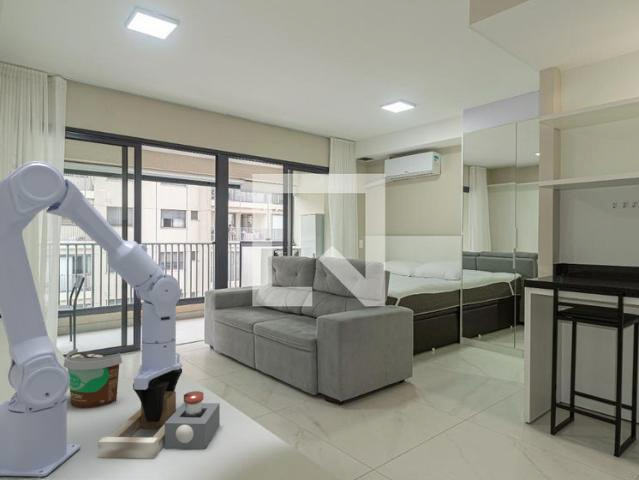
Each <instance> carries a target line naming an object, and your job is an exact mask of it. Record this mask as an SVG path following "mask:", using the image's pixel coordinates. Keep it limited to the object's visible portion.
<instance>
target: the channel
mask: <svg viewBox="0 0 639 480" xmlns="http://www.w3.org/2000/svg"><path fill="white" fill-rule="evenodd" d="M183 403H185V402H184V401H183ZM139 428H141V408H140V409H139V410H137V411H136V412H135V413H134V414H133V415H132V416H131V417H128V419H127V420H126V421H124V422H123V423H122V424H121V425H120V426H119V427H118V428H116V430H114V431H113V432H112V433H111V434H109V436H103V437H102V438H101V439H100V440H99V441H98V442H97V453H98V454H97V456H98V457H97V458H102V459H103V458H107V459H108V458H114V459H115V458H116V459H118V458H120V459H154V458H156V457H157V455H158V454H159V452H161V450H162V449H163V448H165V424H164V425H163V426H162V427H161V428H159V429H158V431H157V432H156V433H155V434H154V435H153V436H152V437H138V436H137V437H136V436H133V437H132V435H133V434H134V433H135V432H136V431H138V429H139Z"/></svg>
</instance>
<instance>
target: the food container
mask: <svg viewBox="0 0 639 480" xmlns="http://www.w3.org/2000/svg"><path fill="white" fill-rule="evenodd" d="M122 359H123V358H122V355H121V353H120V352H118V353H115V354H110V355H106V354H102V353H98V352H95V353H93V352H92V353H81V352H79V349H78V348H75V349H72V350H70V351H68V352H67V354H66V356H65V358H64V362H63V367H64V368H66V369H67V371H68V373H69V376H70V385H69V388H68V389H69V395H70V398H69V399H70V404H71V406H72V407H73V408H76V409H93V408H94V409H95V408H98V407H103V406H108V405H110V404H113V403H115V402H117V400H118V399H117V398H118V396H117V395H118V387H119V386H118V385H119V373H120V365H121V364H123V360H122ZM114 401H115V402H114ZM112 402H113V403H112Z"/></svg>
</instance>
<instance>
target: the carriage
mask: <svg viewBox="0 0 639 480" xmlns="http://www.w3.org/2000/svg"><path fill="white" fill-rule="evenodd" d="M176 396H177V392H176V390H175V391H165V394H164V398H163V403H162V412H161V417H160V420H159V421H158V422H147V420H146V417H145V414H144V410H143V406H142V403H141V402H140V405H141V406H140V409H141V426H140V428H141V429H161V427H162V426H163V425H164V424H165V422H166V421H167V420H168V419H169V418H170V417H171V416H172V415H173V414H174V413H175V411H176V410H177V408H176V407H177V402H176V401H177V397H176Z"/></svg>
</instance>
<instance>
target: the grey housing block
mask: <svg viewBox="0 0 639 480" xmlns="http://www.w3.org/2000/svg"><path fill="white" fill-rule="evenodd" d="M220 410H221V409H220V402H217V403H215V402H210V403H209V402H202V416H201V418H200V417H186V403H184V402H182V404H181V405H180V406H179V407H178V408H176V411H175V413H174V414H173V415H172V416H171V417H170V418H169V419H168V420H167V421H166V422H165V446H164V449H178V450H179V449H181V450H183V449H187V450H193V449H194V450H206V448H207V447H208V445H209V444H210V442H211V441H212V439H213V437H214V436H215V434H216V432H217V431H218V429H219V427H220V422H221V421H220Z"/></svg>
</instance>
